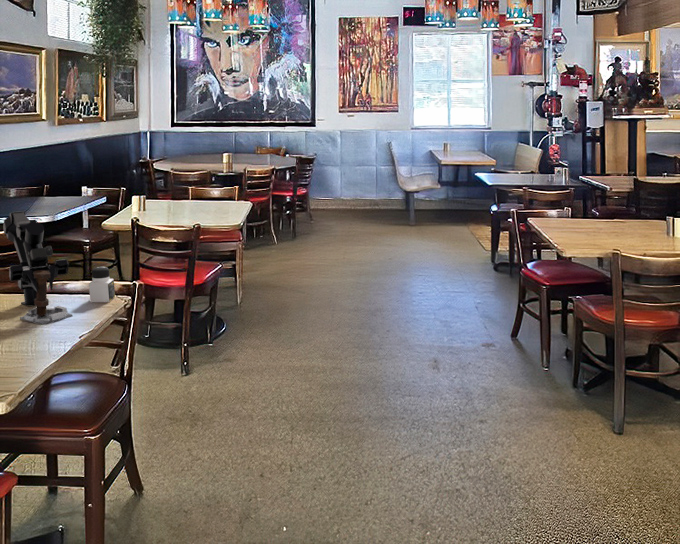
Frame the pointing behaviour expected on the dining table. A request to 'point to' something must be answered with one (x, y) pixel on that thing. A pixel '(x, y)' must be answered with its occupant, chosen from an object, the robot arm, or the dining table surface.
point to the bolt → (41, 291)
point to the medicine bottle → (101, 285)
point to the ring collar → (50, 316)
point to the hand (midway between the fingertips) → (44, 290)
